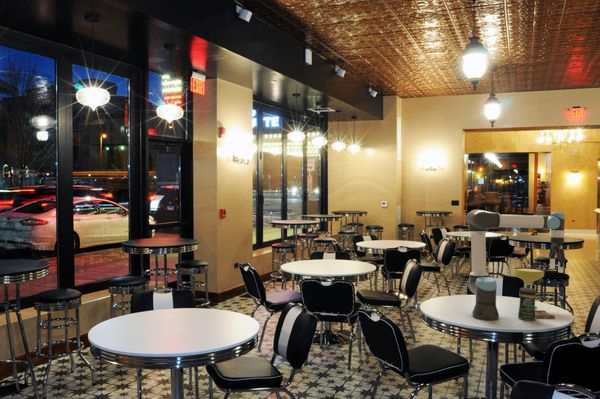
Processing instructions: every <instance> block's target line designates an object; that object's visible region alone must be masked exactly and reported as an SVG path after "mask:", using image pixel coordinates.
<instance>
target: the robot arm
mask: <svg viewBox="0 0 600 399" xmlns="http://www.w3.org/2000/svg"><path fill="white" fill-rule="evenodd" d="M565 216H566V215H565V213H564V212H560V211H559V212H558V211H557V212H556V211H554V212H553V211H552V212H551V214H550V215H548V214H533V215H527V214H526V215H525V214H524V215H523V214H500V213H499V212H492V211H486V210H484V209H483V210H482V209H472V210H471V211H470V212H468V213H467V215H466V218H465V219H466V220H465V221H466V223H467V226H468V232H469V233H470V240H471V242H470V243H471V244H470V245H471V246H470V247H471V251H470V252H471V254H470V255H471V272H469V278H468V280H467V287H468V290H469V291H470V293H472V294H474V295H475V304H474V306H473V310H472V314H471V315H472V317H473V318H475V319H478V320H484V321H496V320H499V319H500V314H499V310H498V307H497V288H498V287H497V281H496V280H495V279H494V278H491V277H490V274H489V273H488V272H487V256H486V254H487V253H486V252H487V250H486V249H487V248H486V247H487V245H486V234H487V233H488V231H489V230H490V229H499V228H522V229H526V228H527V229H548V230H549V229H550V249H549V254H548V258H549V269H550V270H555V268H556V255H557V258H558V260H557V262H558V265H557V267H558V268H557V269H558V270H557V272H558V273H562V274H563V273H564V264H565V262H566V256H565V250H564V245H562V244H564V243H565V234H566V231H565V221H566V217H565Z"/></svg>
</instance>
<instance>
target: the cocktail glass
mask: <svg viewBox="0 0 600 399" xmlns="http://www.w3.org/2000/svg"><path fill="white" fill-rule="evenodd" d="M514 275H515V276H516V277H517V278H519V279H520V280H523V281H524V282H525V283H526V285H527V286H528V287H527V288H530V286H531V285H532V284H533V282H536V281H538V280H540V279H542V278H543V277H544V276H545V270H544V269H542V268H534V267H516V268H514ZM537 309H538V307H537V306H536V305H535V310H537Z"/></svg>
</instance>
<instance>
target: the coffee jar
mask: <svg viewBox="0 0 600 399" xmlns="http://www.w3.org/2000/svg"><path fill="white" fill-rule="evenodd" d="M518 295H519V307H518V315H517V317H518V319H520V320H525V321H535V320H536V319H537V318H536V314H535V310H536V309H535V306H536V298H537V291H536V289H535V288H530V287H529V288H528V287H520V288H519V293H518Z"/></svg>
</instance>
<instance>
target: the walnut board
mask: <svg viewBox="0 0 600 399" xmlns="http://www.w3.org/2000/svg"><path fill="white" fill-rule="evenodd" d="M535 314H536V319H556V318H555V315H554V314H550V313H549V312H547V311H546V310H540V309H539V310H537V309H535Z"/></svg>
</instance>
